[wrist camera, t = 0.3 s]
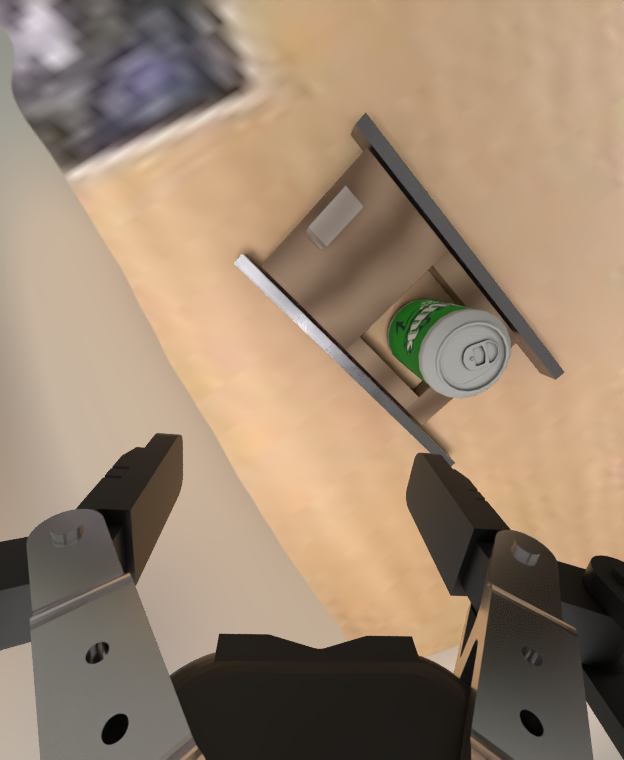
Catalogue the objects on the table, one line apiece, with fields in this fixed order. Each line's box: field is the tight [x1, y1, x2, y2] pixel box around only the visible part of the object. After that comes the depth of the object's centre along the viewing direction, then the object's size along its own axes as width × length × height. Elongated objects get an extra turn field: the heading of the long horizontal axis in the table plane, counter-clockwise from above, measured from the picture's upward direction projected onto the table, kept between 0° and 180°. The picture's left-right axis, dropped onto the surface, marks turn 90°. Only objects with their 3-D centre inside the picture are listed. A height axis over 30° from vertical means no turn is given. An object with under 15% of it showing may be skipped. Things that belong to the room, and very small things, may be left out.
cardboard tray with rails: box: [261, 148, 519, 425], centre depth 32 cm, size 25×14×8 cm, turn 45°
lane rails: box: [234, 113, 564, 466], centre depth 36 cm, size 34×17×2 cm, turn 45°
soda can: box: [387, 299, 511, 398], centre depth 32 cm, size 8×8×12 cm
